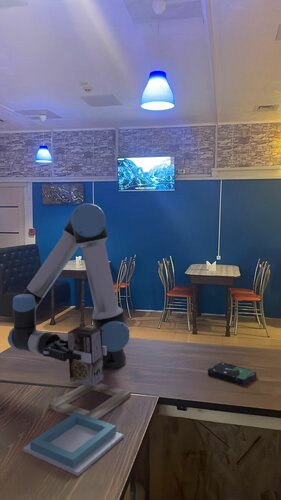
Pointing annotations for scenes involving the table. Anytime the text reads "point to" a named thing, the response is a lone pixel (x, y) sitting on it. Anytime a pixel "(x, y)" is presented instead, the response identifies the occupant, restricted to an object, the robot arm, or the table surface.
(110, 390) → the birch frame
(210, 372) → the disk drive
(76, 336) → the coffee box
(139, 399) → the table surface
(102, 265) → the robot arm
